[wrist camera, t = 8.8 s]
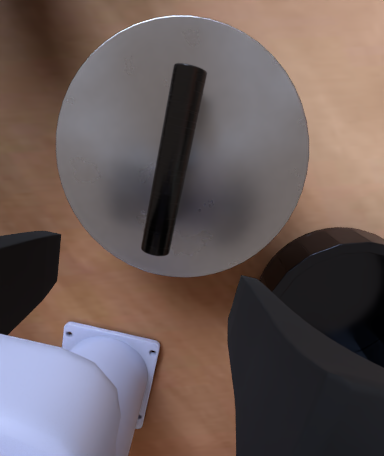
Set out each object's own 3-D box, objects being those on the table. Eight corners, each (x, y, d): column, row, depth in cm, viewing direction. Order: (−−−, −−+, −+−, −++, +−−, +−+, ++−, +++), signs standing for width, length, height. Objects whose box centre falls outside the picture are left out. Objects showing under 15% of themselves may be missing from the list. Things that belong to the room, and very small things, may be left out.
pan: (436, 246, 21) (477, 265, 18) (374, 373, 24) (399, 409, 21) (280, 211, 21) (293, 224, 18) (239, 343, 24) (243, 374, 21)
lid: (338, 57, 14) (405, 13, 9) (263, 290, 17) (283, 345, 13) (78, -3, 14) (9, -80, 9) (56, 243, 17) (-2, 281, 12)
